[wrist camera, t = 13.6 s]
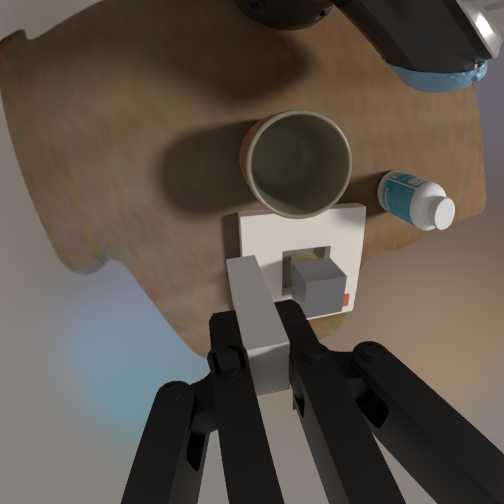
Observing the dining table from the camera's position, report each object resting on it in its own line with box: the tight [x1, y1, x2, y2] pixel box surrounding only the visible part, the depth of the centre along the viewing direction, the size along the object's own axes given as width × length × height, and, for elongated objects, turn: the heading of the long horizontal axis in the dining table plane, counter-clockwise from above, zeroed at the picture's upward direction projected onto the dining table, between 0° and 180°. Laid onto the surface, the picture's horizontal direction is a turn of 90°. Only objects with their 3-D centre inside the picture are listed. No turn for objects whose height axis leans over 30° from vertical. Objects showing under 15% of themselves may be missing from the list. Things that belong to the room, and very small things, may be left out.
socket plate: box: [238, 203, 366, 320], centre depth 46 cm, size 20×20×3 cm
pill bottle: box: [377, 171, 455, 230], centre depth 39 cm, size 8×7×14 cm
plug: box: [290, 253, 347, 318], centre depth 43 cm, size 6×6×10 cm
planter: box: [239, 109, 352, 219], centre depth 35 cm, size 12×12×11 cm
